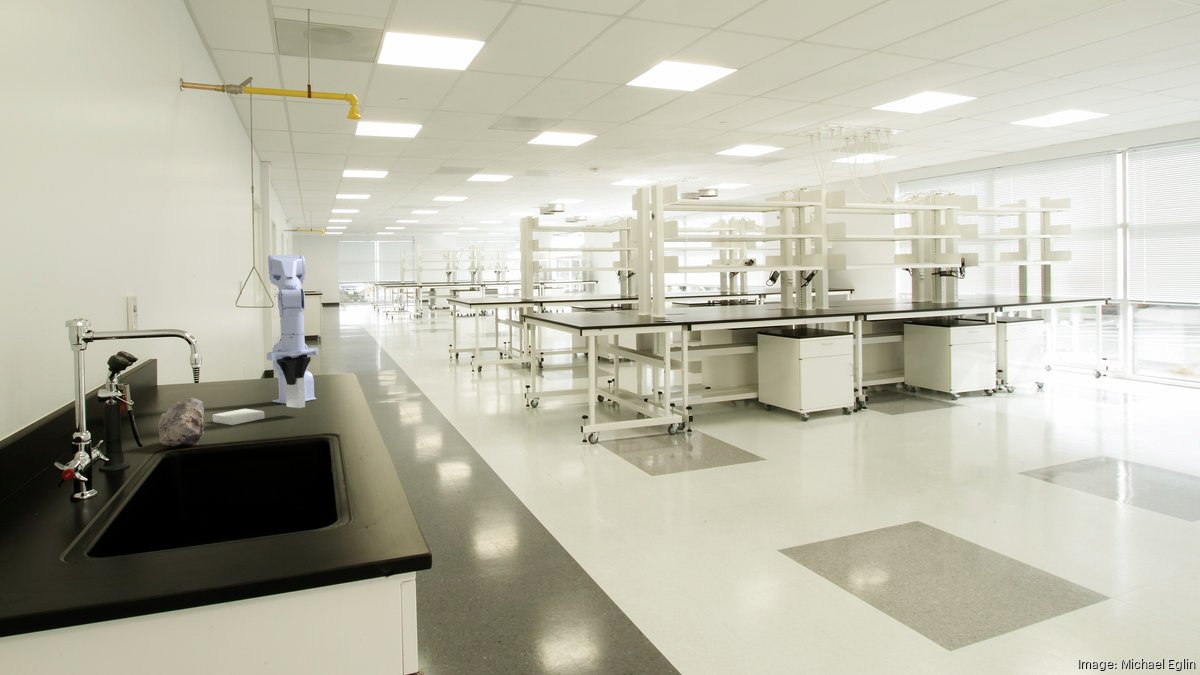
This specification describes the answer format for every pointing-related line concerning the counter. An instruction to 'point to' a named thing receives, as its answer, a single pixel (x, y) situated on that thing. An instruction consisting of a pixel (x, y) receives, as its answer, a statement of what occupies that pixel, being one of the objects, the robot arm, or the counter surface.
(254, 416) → the tile
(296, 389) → the pale grey upright block
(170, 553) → the counter surface
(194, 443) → the rock
